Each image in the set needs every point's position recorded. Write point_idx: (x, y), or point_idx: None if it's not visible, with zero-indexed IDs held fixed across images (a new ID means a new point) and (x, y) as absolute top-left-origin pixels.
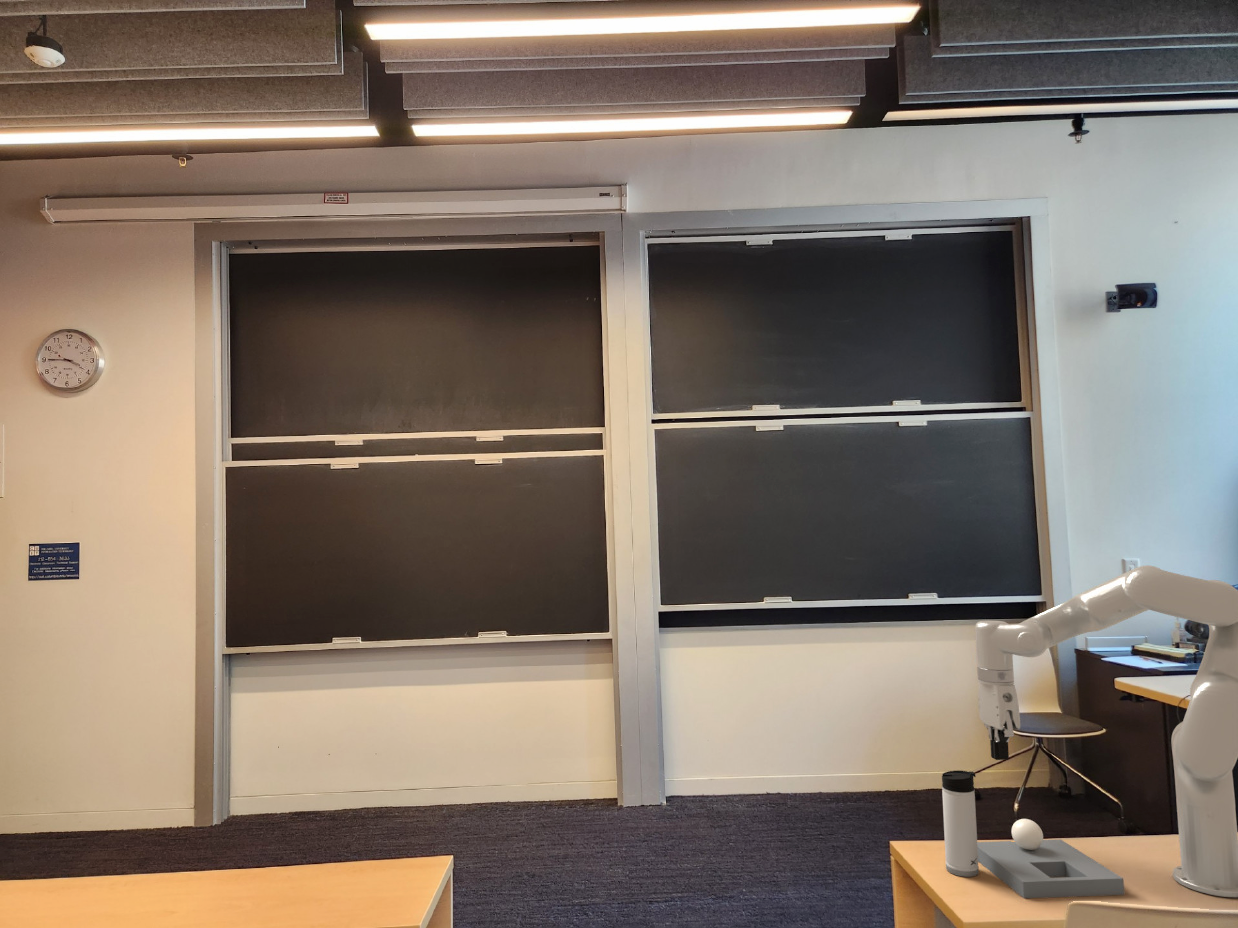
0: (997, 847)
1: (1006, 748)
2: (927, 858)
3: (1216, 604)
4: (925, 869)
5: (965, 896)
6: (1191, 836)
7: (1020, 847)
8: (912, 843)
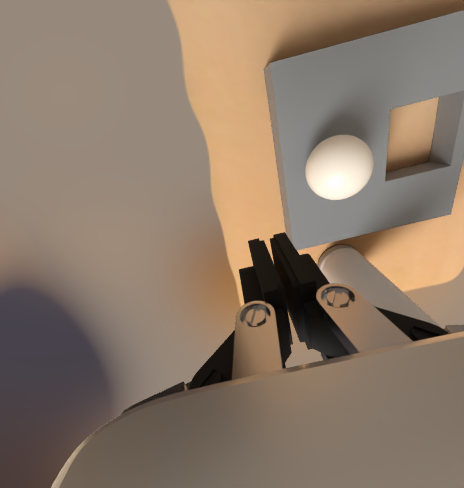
0: (316, 216)
1: (319, 270)
2: None
3: None
4: None
5: (409, 271)
6: None
7: None
8: (243, 304)
